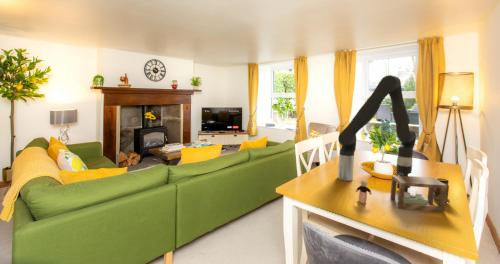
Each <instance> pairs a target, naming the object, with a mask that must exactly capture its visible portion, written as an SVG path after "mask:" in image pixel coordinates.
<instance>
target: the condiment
mask: <svg viewBox="0 0 500 264" xmlns="http://www.w3.org/2000/svg"><path fill="white" fill-rule="evenodd" d="M436 179H437V180H439V181H440V182H442V183H444V184H445V185H447V189H446V198H445V205H450V201H451V200H450V198H449V190H450V186H449V180H448V179H445V178H442V177H441V178H436ZM439 194H440V188H434V197H433V203H438V202H439ZM447 202H448V203H449V204H448V203H447Z"/></svg>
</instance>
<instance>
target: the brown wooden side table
mask: <svg viewBox="0 0 500 264" xmlns="http://www.w3.org/2000/svg"><path fill="white" fill-rule="evenodd" d="M437 179H438V178H436V177H431V176H429V177H428V176H411V175H410V176H409V175H408V176H396V175H391V185H390V186H391V187H390V197H389V198H390V201H393V202H395V201H396V195H397V208H398V209H399V210H412V211H424V212H425V211H427V212H436V211H437V212H438V213H445V206H446V204H445V198H446V189H447V185H445V184H444V183H442V182H440V181H439V180H437ZM397 183H398V184H399V188H398V194H399V195H398V194H397ZM405 186H410V187H419V188H428V189H427V190H428V191H427V200H428V205H418V204H404V203H403V202H404V190H405ZM434 188H440V194H439V203H438V202H437V203H438V204H437V205H430V204H434V201H433V197H434Z"/></svg>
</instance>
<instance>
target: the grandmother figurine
mask: <svg viewBox="0 0 500 264" xmlns="http://www.w3.org/2000/svg"><path fill="white" fill-rule="evenodd" d="M368 184H369V183H368V181H367V180H366V179H361V180H360V186H358V187H357V188H356V189H355V193H358V192H359V193H358V200H357V201H356V203H358V204H363V205H367V198H368V194H369V195H372V190H371V188H369V187H367V185H368ZM367 192H368V193H367Z"/></svg>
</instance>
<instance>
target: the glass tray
mask: <svg viewBox="0 0 500 264" xmlns="http://www.w3.org/2000/svg"><path fill="white" fill-rule="evenodd" d="M398 195H399V193H398V194H397V196H398ZM403 203H404V204H418V205H429V203H428V198H426V197H425V196H424V195H423V193H421V192H415V194H411V193H410V192H409V191H408V192H404V202H403Z"/></svg>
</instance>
